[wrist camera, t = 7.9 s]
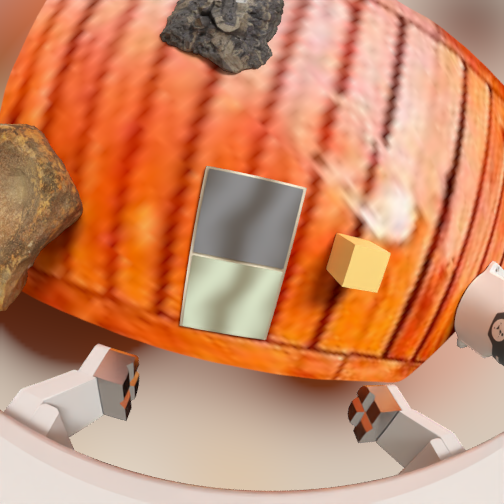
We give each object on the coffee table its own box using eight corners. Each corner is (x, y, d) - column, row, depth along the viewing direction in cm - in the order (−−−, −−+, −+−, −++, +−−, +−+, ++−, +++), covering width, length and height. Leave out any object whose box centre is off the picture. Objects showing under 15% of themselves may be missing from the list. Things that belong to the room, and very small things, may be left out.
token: (368, 240, 35) (390, 253, 30) (357, 275, 37) (377, 292, 31) (336, 232, 35) (355, 244, 29) (325, 268, 36) (342, 286, 30)
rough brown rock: (113, 268, 35) (66, 316, 20) (28, 283, 33) (-28, 323, 19) (90, 104, 29) (34, 69, 15) (5, 140, 27) (-57, 133, 13)
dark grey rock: (150, 67, 28) (268, 81, 29) (142, 57, 24) (273, 70, 26) (188, -31, 23) (290, -19, 25) (185, -45, 19) (295, -34, 21)
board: (305, 187, 33) (307, 188, 32) (265, 337, 38) (265, 341, 37) (206, 165, 31) (206, 165, 31) (180, 323, 37) (179, 326, 36)
